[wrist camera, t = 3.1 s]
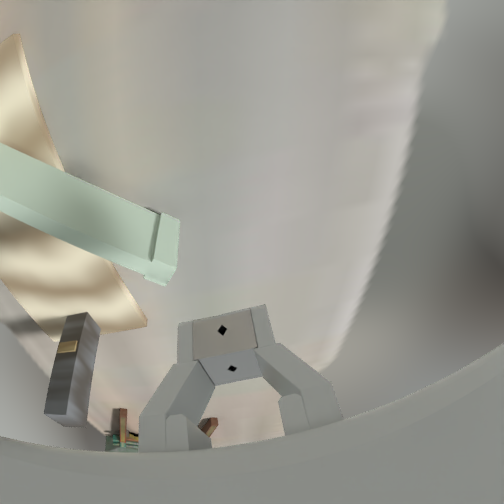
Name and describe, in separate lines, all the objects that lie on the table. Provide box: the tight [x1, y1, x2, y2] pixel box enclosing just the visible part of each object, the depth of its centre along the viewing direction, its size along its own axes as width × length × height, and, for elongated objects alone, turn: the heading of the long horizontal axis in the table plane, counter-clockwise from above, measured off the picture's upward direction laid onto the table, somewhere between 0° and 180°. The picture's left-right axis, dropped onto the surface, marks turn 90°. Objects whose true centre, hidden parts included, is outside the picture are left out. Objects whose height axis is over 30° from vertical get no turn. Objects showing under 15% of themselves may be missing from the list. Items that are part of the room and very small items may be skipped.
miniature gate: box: [105, 408, 218, 453], centre depth 55 cm, size 27×6×30 cm
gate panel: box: [0, 143, 180, 286], centre depth 16 cm, size 21×2×6 cm, turn 55°
